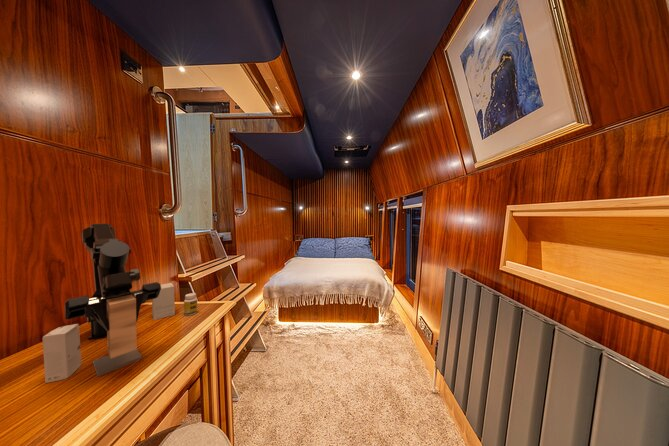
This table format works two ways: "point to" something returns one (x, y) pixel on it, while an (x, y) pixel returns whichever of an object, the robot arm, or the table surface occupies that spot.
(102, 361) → the slate coaster
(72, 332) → the skincare box
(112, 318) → the oak block
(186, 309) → the supplement bottle
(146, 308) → the table surface
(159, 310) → the supplement box
